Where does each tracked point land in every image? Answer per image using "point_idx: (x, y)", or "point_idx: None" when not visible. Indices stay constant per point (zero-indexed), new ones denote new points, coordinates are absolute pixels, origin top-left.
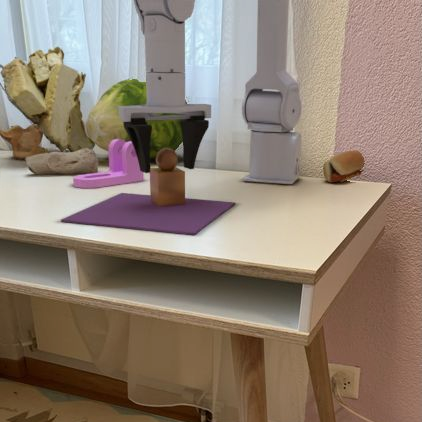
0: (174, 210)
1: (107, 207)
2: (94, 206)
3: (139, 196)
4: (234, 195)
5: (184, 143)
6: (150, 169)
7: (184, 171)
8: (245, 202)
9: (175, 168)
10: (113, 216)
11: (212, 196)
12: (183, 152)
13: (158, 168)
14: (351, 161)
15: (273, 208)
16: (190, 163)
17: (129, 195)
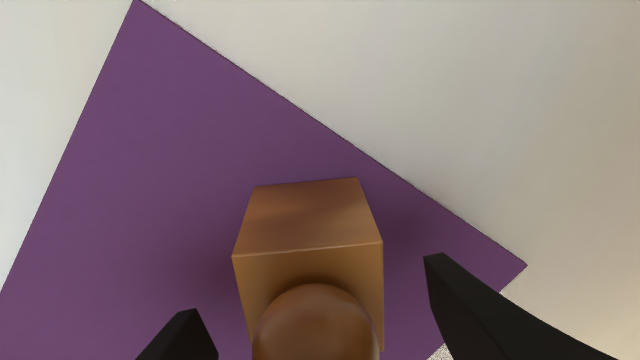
0: None
1: (91, 256)
2: (40, 237)
3: (217, 102)
4: (611, 127)
5: (489, 351)
6: (234, 269)
7: (381, 351)
8: (572, 242)
9: (365, 284)
10: (119, 354)
11: (521, 127)
12: (455, 299)
13: (277, 270)
14: None
15: (595, 321)
16: (440, 332)
17: (172, 72)
